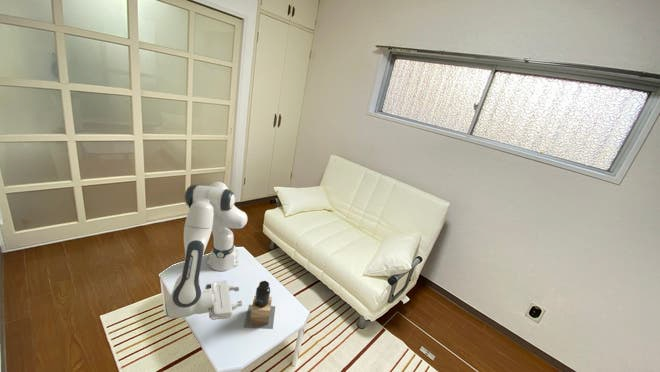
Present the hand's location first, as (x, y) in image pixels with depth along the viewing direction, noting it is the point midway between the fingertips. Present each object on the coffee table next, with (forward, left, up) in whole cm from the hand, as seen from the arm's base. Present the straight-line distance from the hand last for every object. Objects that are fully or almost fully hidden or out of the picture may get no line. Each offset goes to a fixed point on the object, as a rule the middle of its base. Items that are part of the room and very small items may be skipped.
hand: (240, 295), depth 125 cm
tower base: (-4, +10, -17) cm, 20 cm away
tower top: (-4, +10, -12) cm, 16 cm away
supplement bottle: (-4, +10, -8) cm, 13 cm away
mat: (-4, +10, -17) cm, 20 cm away
